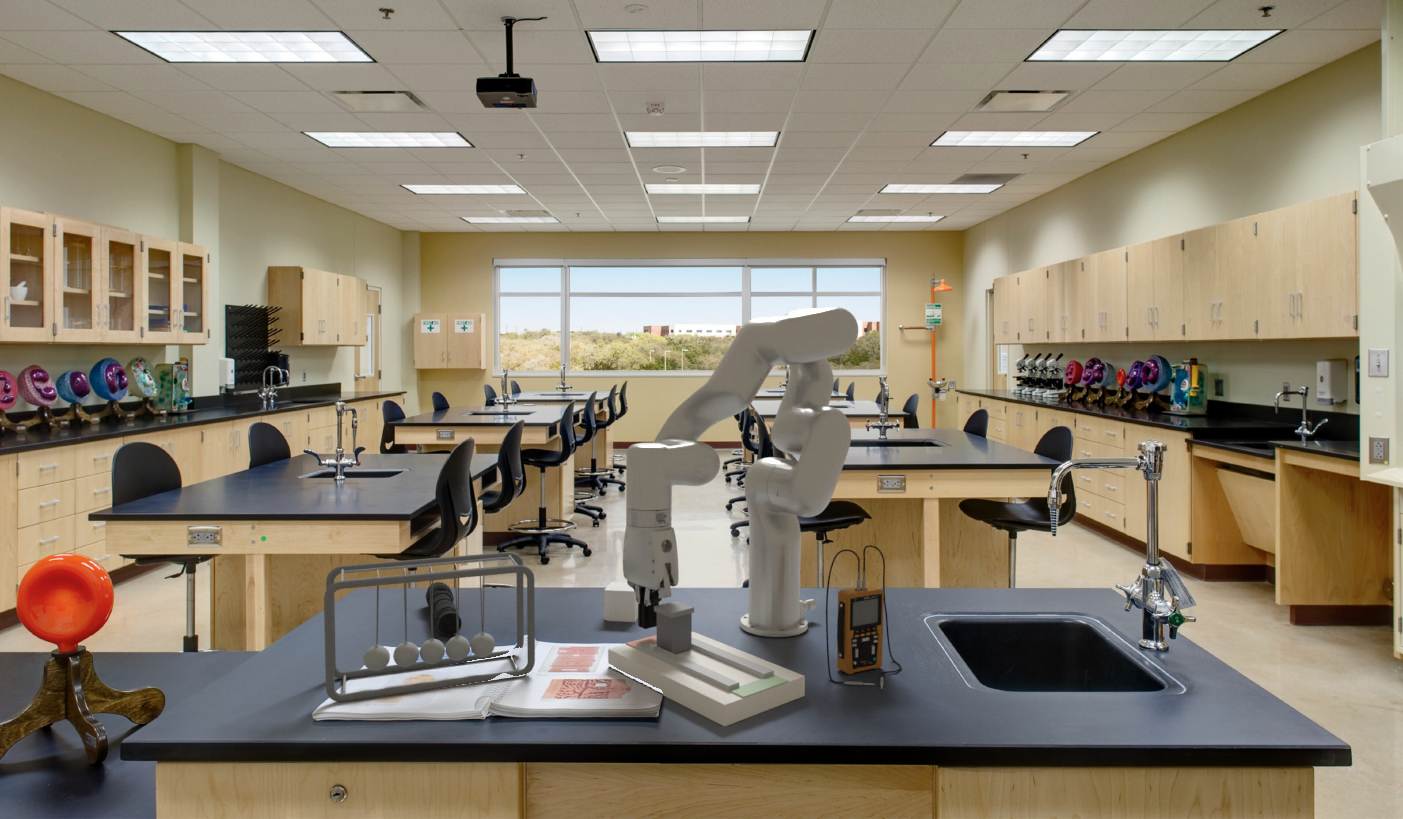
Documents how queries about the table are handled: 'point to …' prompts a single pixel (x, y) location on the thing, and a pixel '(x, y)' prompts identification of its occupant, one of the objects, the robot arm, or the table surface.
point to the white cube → (620, 603)
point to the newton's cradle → (432, 648)
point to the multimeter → (860, 626)
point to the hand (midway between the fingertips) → (648, 626)
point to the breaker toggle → (674, 626)
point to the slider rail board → (710, 677)
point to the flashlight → (443, 608)
